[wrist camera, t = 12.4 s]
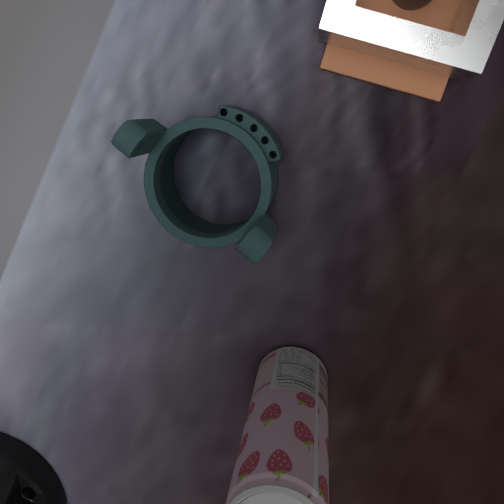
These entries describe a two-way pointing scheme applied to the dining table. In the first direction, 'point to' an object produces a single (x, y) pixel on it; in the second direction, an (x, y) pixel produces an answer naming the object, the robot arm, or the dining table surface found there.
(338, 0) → the white square sleeve
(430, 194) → the dining table surface
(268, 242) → the bracket
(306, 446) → the beverage can
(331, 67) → the keeper
